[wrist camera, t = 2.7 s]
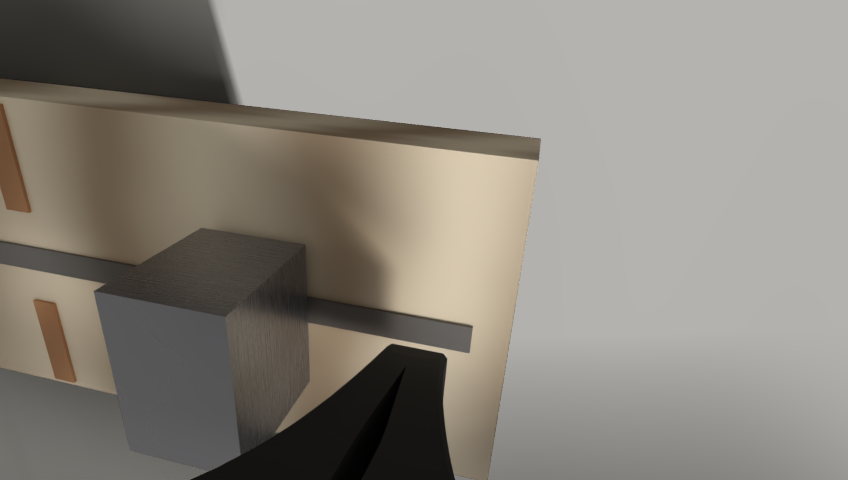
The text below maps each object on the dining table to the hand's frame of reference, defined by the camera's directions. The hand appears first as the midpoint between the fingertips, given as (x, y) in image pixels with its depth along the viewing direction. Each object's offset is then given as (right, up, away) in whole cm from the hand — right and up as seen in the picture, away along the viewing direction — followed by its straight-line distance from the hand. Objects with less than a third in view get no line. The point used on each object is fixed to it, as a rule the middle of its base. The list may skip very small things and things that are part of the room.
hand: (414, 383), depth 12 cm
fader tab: (-4, +1, +3) cm, 5 cm away
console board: (-8, +3, +6) cm, 10 cm away
